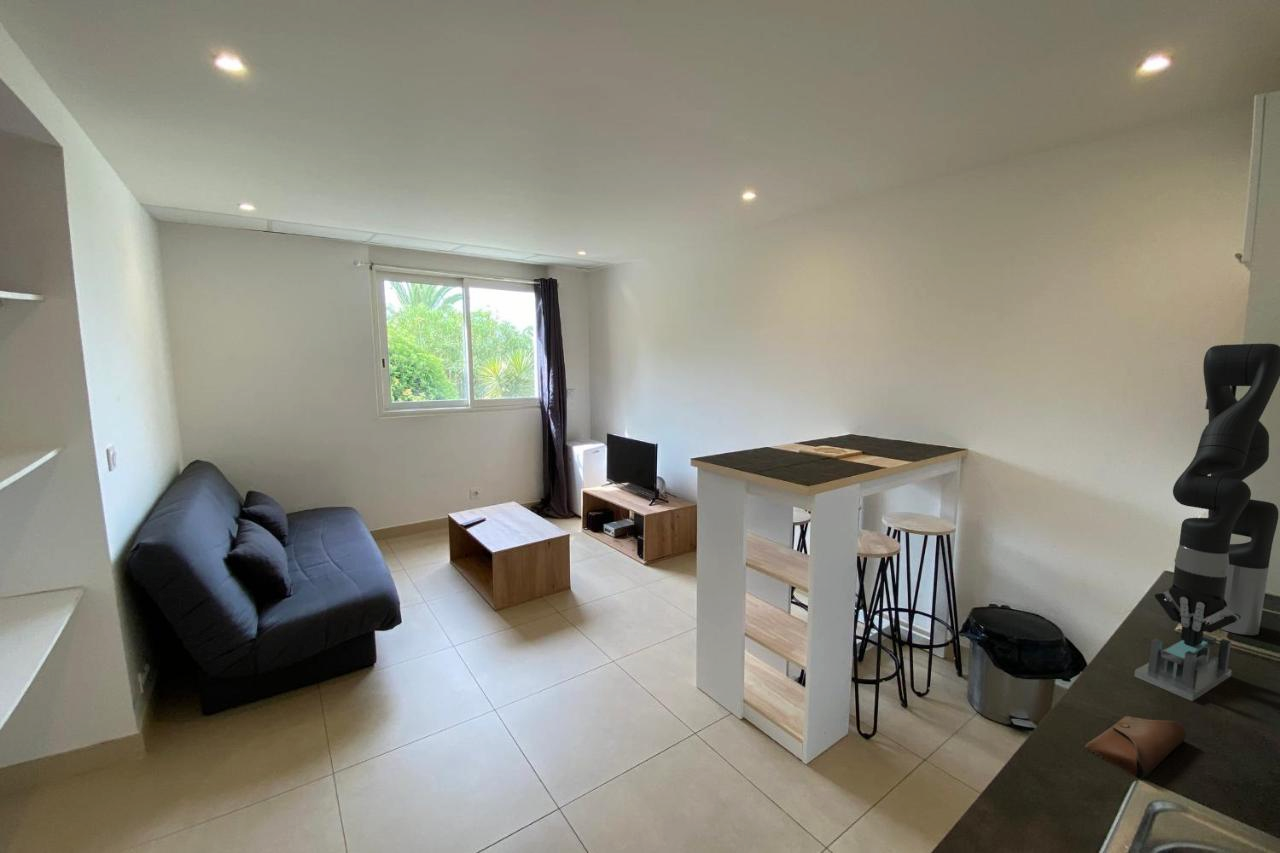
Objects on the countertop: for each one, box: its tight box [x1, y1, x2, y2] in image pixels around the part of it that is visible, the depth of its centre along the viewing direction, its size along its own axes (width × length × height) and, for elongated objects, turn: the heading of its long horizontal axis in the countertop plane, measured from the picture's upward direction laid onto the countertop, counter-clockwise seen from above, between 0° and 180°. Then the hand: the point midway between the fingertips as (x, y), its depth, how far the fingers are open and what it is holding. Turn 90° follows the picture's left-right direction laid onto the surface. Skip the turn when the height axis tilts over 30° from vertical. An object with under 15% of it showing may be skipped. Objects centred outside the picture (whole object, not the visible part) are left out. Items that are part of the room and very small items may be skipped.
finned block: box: [1134, 638, 1232, 702], centre depth 109 cm, size 18×9×8 cm, turn 115°
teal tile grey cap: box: [1161, 633, 1217, 665], centre depth 109 cm, size 14×4×2 cm, turn 114°
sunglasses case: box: [1084, 715, 1187, 780], centre depth 90 cm, size 18×7×7 cm
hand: (1190, 644), depth 110 cm, fingers closed
